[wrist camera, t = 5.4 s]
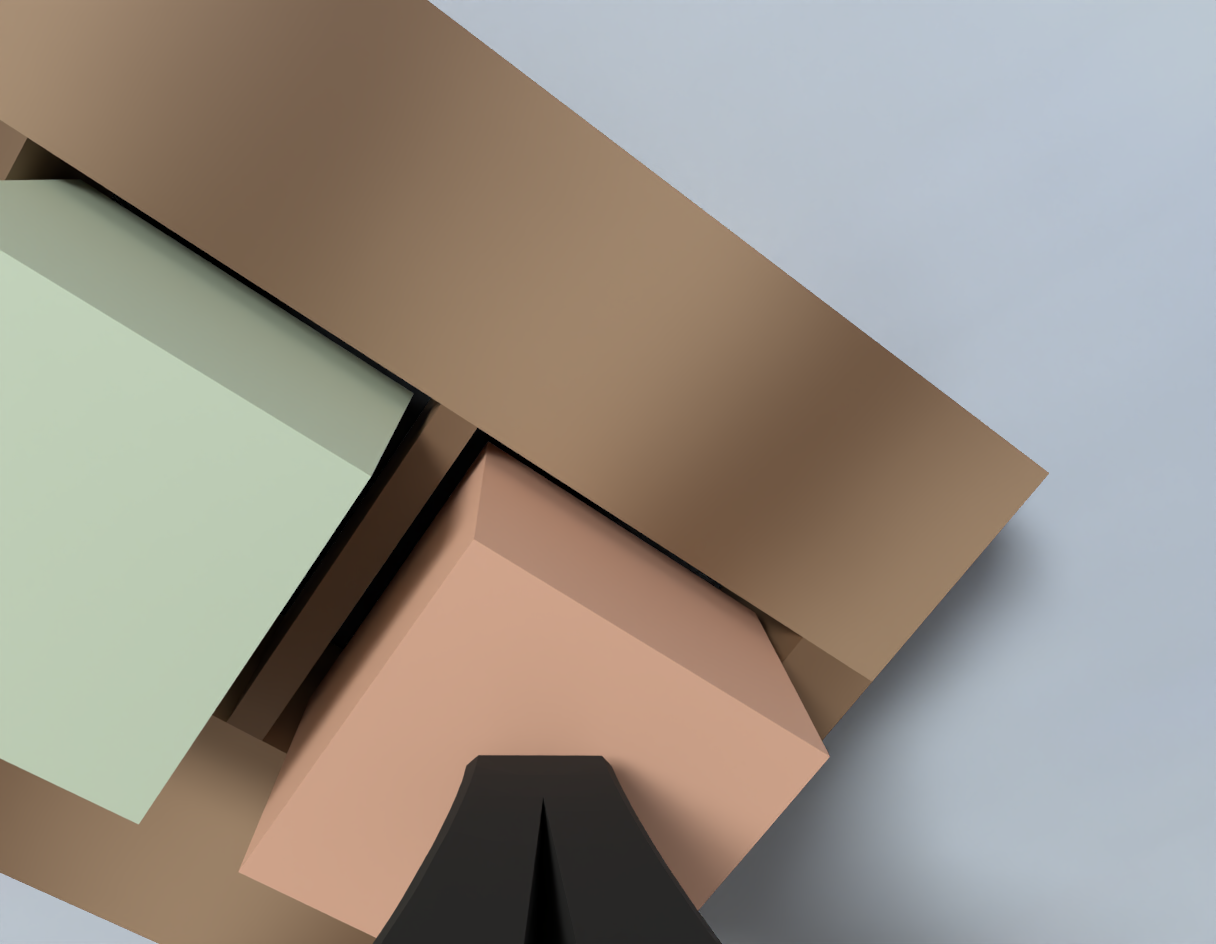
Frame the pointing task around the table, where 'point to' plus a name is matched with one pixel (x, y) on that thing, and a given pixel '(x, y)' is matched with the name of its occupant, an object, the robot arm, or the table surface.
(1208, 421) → the table surface
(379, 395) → the sage key
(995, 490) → the brown wooden tray
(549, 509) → the terracotta key
